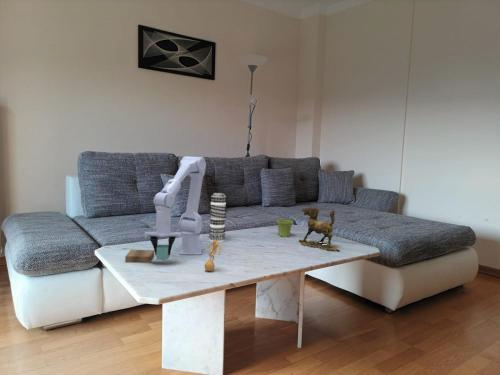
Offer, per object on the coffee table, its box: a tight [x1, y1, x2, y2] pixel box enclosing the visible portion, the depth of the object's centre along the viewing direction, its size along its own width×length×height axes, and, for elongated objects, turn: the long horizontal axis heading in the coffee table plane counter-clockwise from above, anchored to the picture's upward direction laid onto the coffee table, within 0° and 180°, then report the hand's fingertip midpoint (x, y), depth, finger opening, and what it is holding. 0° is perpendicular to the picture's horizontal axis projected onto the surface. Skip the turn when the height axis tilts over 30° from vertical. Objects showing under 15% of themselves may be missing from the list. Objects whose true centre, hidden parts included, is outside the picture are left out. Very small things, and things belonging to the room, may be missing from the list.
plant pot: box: [276, 219, 294, 238], centre depth 208 cm, size 9×9×9 cm
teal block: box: [155, 244, 170, 261], centre depth 148 cm, size 4×4×5 cm
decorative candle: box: [208, 192, 228, 243], centre depth 190 cm, size 9×9×25 cm
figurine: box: [298, 206, 341, 252], centre depth 188 cm, size 13×25×20 cm, turn 41°
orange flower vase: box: [204, 241, 222, 272], centre depth 142 cm, size 8×6×12 cm
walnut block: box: [125, 249, 155, 264], centre depth 153 cm, size 10×10×3 cm
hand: (162, 254), depth 148 cm, fingers closed on teal block, 4 cm apart
